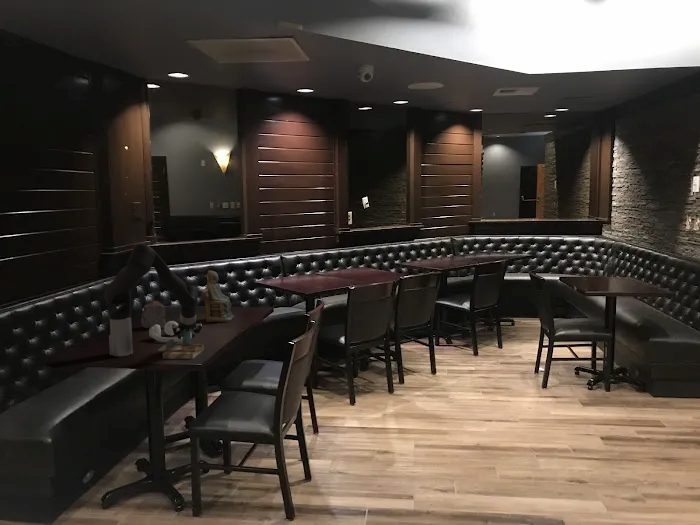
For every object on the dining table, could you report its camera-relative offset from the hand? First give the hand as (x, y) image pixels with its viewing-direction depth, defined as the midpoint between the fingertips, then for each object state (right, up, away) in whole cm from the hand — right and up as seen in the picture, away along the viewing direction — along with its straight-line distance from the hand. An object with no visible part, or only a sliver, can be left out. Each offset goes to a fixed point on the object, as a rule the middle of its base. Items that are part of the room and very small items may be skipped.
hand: (186, 337), depth 285 cm
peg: (+1, -5, -1) cm, 5 cm away
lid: (-4, -4, -13) cm, 14 cm away
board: (+3, -6, -13) cm, 14 cm away
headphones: (-12, -3, +18) cm, 22 cm away
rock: (-29, 0, +45) cm, 54 cm away
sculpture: (+2, +2, +63) cm, 63 cm away
